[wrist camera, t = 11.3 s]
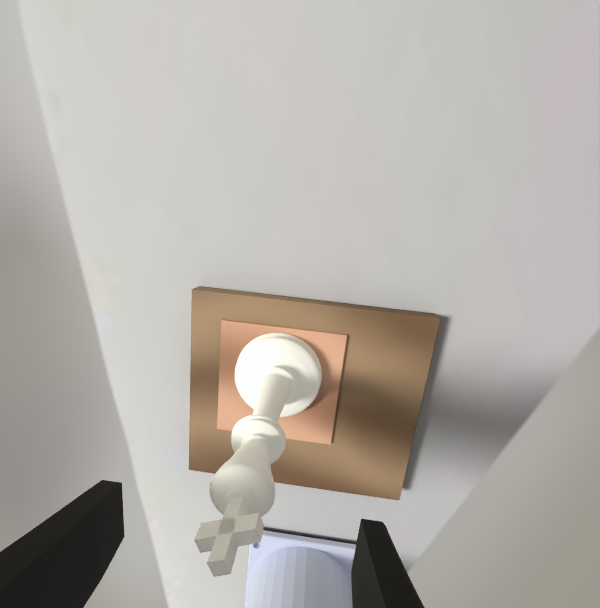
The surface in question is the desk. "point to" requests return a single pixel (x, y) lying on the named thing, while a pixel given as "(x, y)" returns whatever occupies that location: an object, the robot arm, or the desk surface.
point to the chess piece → (257, 442)
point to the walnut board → (332, 392)
